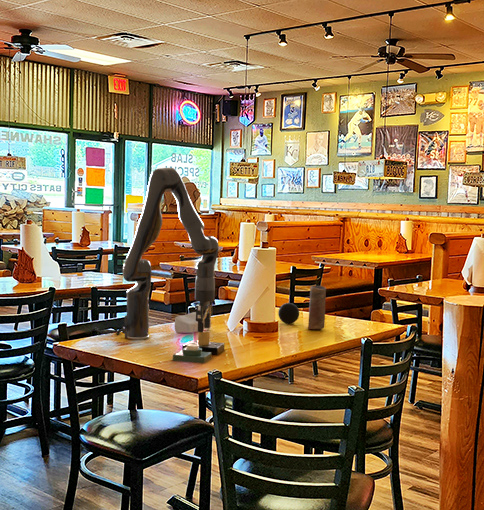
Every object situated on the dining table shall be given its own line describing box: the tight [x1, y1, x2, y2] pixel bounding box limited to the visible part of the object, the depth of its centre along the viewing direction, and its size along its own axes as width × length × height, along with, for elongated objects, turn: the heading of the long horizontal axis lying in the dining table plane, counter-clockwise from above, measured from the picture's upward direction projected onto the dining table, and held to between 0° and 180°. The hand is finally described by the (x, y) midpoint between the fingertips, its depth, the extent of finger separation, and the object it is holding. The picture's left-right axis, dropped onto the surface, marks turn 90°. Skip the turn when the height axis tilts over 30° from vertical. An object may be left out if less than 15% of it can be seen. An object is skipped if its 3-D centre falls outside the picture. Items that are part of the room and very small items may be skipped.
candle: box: [307, 285, 327, 331], centre depth 320 cm, size 8×7×20 cm
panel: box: [181, 340, 226, 357], centre depth 269 cm, size 14×10×3 cm
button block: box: [172, 347, 213, 364], centre depth 256 cm, size 12×9×4 cm
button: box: [187, 344, 198, 350], centre depth 256 cm, size 4×4×2 cm
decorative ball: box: [277, 302, 300, 325], centre depth 335 cm, size 10×10×10 cm
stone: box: [174, 311, 212, 334], centre depth 312 cm, size 11×17×10 cm, turn 137°
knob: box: [197, 330, 211, 345], centre depth 269 cm, size 4×4×5 cm
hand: (203, 329), depth 269 cm, fingers open, 8 cm apart
